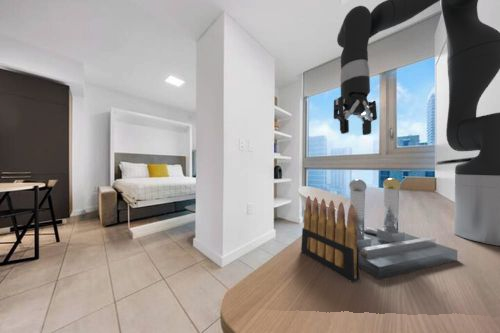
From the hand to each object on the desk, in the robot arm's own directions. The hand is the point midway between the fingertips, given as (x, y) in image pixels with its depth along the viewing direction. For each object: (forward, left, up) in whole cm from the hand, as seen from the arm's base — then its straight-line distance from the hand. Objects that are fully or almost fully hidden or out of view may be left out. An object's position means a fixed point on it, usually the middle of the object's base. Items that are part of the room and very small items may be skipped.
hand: (356, 133), depth 50 cm
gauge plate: (+6, +13, -29) cm, 32 cm away
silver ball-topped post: (+14, +11, -27) cm, 32 cm away
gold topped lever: (+4, +11, -26) cm, 29 cm away
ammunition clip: (+22, +13, -29) cm, 39 cm away
